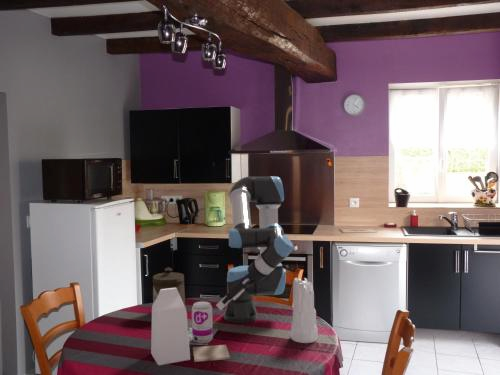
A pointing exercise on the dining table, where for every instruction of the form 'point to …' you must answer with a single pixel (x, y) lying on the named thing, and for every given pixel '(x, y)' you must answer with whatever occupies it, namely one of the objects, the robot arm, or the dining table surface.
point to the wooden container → (168, 283)
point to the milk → (169, 328)
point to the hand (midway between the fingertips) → (225, 302)
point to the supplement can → (202, 322)
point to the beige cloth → (210, 353)
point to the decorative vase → (303, 312)
